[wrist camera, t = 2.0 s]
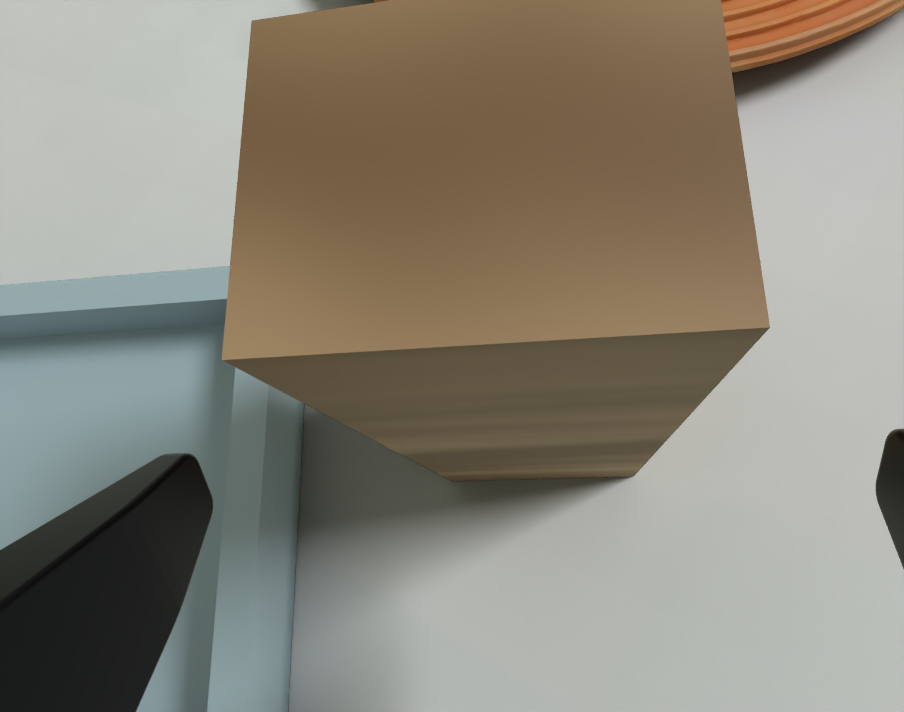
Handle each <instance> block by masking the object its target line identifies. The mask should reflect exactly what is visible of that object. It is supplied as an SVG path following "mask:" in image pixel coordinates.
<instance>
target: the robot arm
mask: <svg viewBox="0 0 904 712" xmlns="http://www.w3.org/2000/svg"><path fill="white" fill-rule="evenodd" d="M876 496H877V501H878V504H879V506H880V509H881V512H882V514H883V517H884V519H885V522H886V525H887V527H888V530H889V532H890V535H891V537H892V540H893V543H894V545H895V548H896V550H897V553H898V556H899V558H900V561H901V563H902V566H903V569H904V429H895V430H893V431H892V432H890V433H889V435H888V436H887V438H886V441H885V445H884V450H883V454H882V458H881V462H880V467H879V471H878V475H877V480H876ZM212 512H213V498H212V495H211V492H210V490H209V487H208V485H207V482H206V480H205V477H204V475H203V472H202V469H201V467H200V464H199V462H198V460H197V458H196V457H195V456H194V455H192V454H190V453H169V454H163V455H161V456H159V457H157V458H155V459H154V460H152V461H150V462H149V463H147V464H145V465H144V466H142V467H140V468H138V469H137V470H135V471H133V472H132V473H130V474H128V475H127V476H125V477H123V478H122V479H120V480H118V481H116V482H115V483H113V484H111V485H110V486H108V487H106V488H105V489H103V490H101V491H99V492H98V493H96V494H94V495H93V496H91V497H89V498H88V499H86V500H84V501H82V502H81V503H79V504H77V505H76V506H74V507H72V508H71V509H69V510H67V511H65V512H64V513H62V514H60V515H59V516H57V517H55V518H54V519H52V520H50V521H48V522H47V523H45V524H43V525H42V526H40V527H38V528H37V529H35V530H33V531H32V532H30V533H28V534H26V535H25V536H23V537H21V538H20V539H18V540H16V541H15V542H13V543H11V544H9V545H8V546H6V547H4V548H3V549H1V550H0V712H136V711H137V709H138V706H139V704H140V702H141V700H142V697H143V695H144V693H145V691H146V688H147V686H148V684H149V682H150V679H151V677H152V675H153V673H154V670H155V668H156V666H157V663H158V661H159V659H160V657H161V654H162V652H163V650H164V648H165V645H166V643H167V641H168V639H169V636H170V634H171V632H172V630H173V627H174V625H175V622H176V620H177V618H178V615H179V613H180V610H181V607H182V605H183V602H184V599H185V596H186V593H187V590H188V587H189V584H190V581H191V578H192V575H193V572H194V569H195V566H196V563H197V560H198V556H199V553H200V550H201V547H202V544H203V541H204V538H205V535H206V532H207V529H208V526H209V523H210V520H211V516H212Z"/></svg>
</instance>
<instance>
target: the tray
mask: <svg viewBox="0 0 904 712" xmlns="http://www.w3.org/2000/svg"><path fill="white" fill-rule="evenodd" d="M229 272H230V266H224V267H212V268H200V269H189V270H177V271H165V272H153V273H141V274H129V275H117V276H105V277H94V278H82V279H70V280H58V281H46V282H34V283H22V284H10V285H0V550H1V549H3V548H4V547H6V546H8V545H9V544H11V543H13V542H15V541H16V540H18V539H20V538H21V537H23V536H25V535H26V534H28V533H30V532H32V531H33V530H35V529H37V528H38V527H40V526H42V525H43V524H45V523H47V522H48V521H50V520H52V519H54V518H55V517H57V516H59V515H60V514H62V513H64V512H65V511H67V510H69V509H71V508H72V507H74V506H76V505H77V504H79V503H81V502H82V501H84V500H86V499H88V498H89V497H91V496H93V495H94V494H96V493H98V492H99V491H101V490H103V489H105V488H106V487H108V486H110V485H111V484H113V483H115V482H116V481H118V480H120V479H122V478H123V477H125V476H127V475H128V474H130V473H132V472H133V471H135V470H137V469H138V468H140V467H142V466H144V465H145V464H147V463H149V462H150V461H152V460H154V459H155V458H157V457H159V456H161V455H163V454H169V453H190V454H192V455H194V456H195V457H196V458H197V460H198V462H199V464H200V467H201V469H202V472H203V475H204V477H205V480H206V482H207V485H208V487H209V490H210V492H211V495H212V498H213V512H212V516H211V520H210V523H209V526H208V529H207V532H206V535H205V538H204V541H203V544H202V547H201V550H200V553H199V556H198V560H197V563H196V566H195V569H194V572H193V575H192V578H191V581H190V584H189V587H188V590H187V593H186V596H185V599H184V602H183V605H182V607H181V610H180V613H179V615H178V618H177V620H176V622H175V625H174V627H173V630H172V632H171V634H170V636H169V639H168V641H167V643H166V645H165V648H164V650H163V652H162V654H161V657H160V659H159V661H158V663H157V666H156V668H155V670H154V673H153V675H152V677H151V679H150V682H149V684H148V686H147V688H146V691H145V693H144V695H143V697H142V700H141V702H140V704H139V706H138V709H137V711H136V712H288V708H289V689H290V670H291V651H292V631H293V612H294V593H295V574H296V555H297V536H298V516H299V497H300V478H301V459H302V440H303V420H304V403H302V402H300V401H298V400H296V399H294V398H293V397H291V396H289V395H287V394H285V393H283V392H281V391H279V390H277V389H276V388H274V387H272V386H270V385H268V384H266V383H264V382H262V381H260V380H258V379H257V378H255V377H253V376H251V375H249V374H247V373H245V372H243V371H241V370H240V369H238V368H236V367H234V366H232V365H230V364H228V363H226V362H224V361H222V351H223V340H224V328H225V317H226V306H227V295H228V283H229Z"/></svg>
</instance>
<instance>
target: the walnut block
mask: <svg viewBox="0 0 904 712" xmlns="http://www.w3.org/2000/svg"><path fill="white" fill-rule="evenodd" d="M769 328H770V325H769V318H768V312H767V305H766V298H765V292H764V285H763V278H762V272H761V265H760V258H759V252H758V245H757V238H756V231H755V225H754V218H753V211H752V205H751V198H750V191H749V185H748V178H747V171H746V165H745V158H744V151H743V145H742V138H741V131H740V124H739V118H738V111H737V104H736V98H735V91H734V84H733V78H732V71H731V64H730V58H729V51H728V44H727V37H726V31H725V24H724V17H723V11H722V4H721V0H389V1H382V2H375V3H369V4H362V5H355V6H348V7H342V8H335V9H328V10H321V11H314V12H308V13H301V14H294V15H287V16H280V17H274V18H267V19H260V20H253V21H252V24H251V35H250V46H249V58H248V69H247V80H246V92H245V103H244V114H243V125H242V137H241V148H240V159H239V171H238V182H237V193H236V204H235V216H234V227H233V238H232V249H231V261H230V272H229V283H228V295H227V306H226V317H225V328H224V340H223V351H222V361H224V362H226V363H228V364H230V365H232V366H234V367H236V368H238V369H240V370H241V371H243V372H245V373H247V374H249V375H251V376H253V377H255V378H257V379H258V380H260V381H262V382H264V383H266V384H268V385H270V386H272V387H274V388H276V389H277V390H279V391H281V392H283V393H285V394H287V395H289V396H291V397H293V398H294V399H296V400H298V401H300V402H302V403H304V404H306V405H308V406H310V407H312V408H313V409H315V410H317V411H319V412H321V413H323V414H325V415H327V416H329V417H331V418H332V419H334V420H336V421H338V422H340V423H342V424H344V425H346V426H348V427H349V428H351V429H353V430H355V431H357V432H359V433H361V434H363V435H365V436H367V437H368V438H370V439H372V440H374V441H376V442H378V443H380V444H382V445H384V446H386V447H387V448H389V449H391V450H393V451H395V452H397V453H399V454H401V455H403V456H404V457H406V458H408V459H410V460H412V461H414V462H416V463H418V464H420V465H422V466H423V467H425V468H427V469H429V470H431V471H433V472H435V473H437V474H439V475H441V476H442V477H444V478H446V479H448V480H450V481H480V480H518V479H556V478H594V477H632V476H634V475H635V474H636V473H637V472H638V471H639V470H640V469H641V468H642V467H643V466H644V464H645V463H646V462H647V461H648V460H649V459H650V458H651V457H652V456H653V455H654V454H655V452H656V451H657V450H658V449H659V448H660V447H661V446H662V445H663V444H664V443H665V441H666V440H667V439H668V438H669V437H670V436H671V435H672V434H673V433H674V432H675V431H676V429H677V428H678V427H679V426H680V425H681V424H682V423H683V422H684V421H685V420H686V419H687V417H688V416H689V415H690V414H691V413H692V412H693V411H694V410H695V409H696V408H697V406H698V405H699V404H700V403H701V402H702V401H703V400H704V399H705V398H706V397H707V396H708V394H709V393H710V392H711V391H712V390H713V389H714V388H715V387H716V386H717V385H718V384H719V382H720V381H721V380H722V379H723V378H724V377H725V376H726V375H727V374H728V373H729V371H730V370H731V369H732V368H733V367H734V366H735V365H736V364H737V363H738V362H739V361H740V359H741V358H742V357H743V356H744V355H745V354H746V353H747V352H748V351H749V350H750V349H751V347H752V346H753V345H754V344H755V343H756V342H757V341H758V340H759V339H760V338H761V336H762V335H763V334H764V333H765V332H766V331H767V330H768V329H769Z"/></svg>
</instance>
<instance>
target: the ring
mask: <svg viewBox="0 0 904 712" xmlns="http://www.w3.org/2000/svg"><path fill="white" fill-rule="evenodd" d="M373 1H374V2H382V1H389V0H373ZM721 4H722V11H723V17H724V24H725V31H726V37H727V44H728V51H729V58H730V64H731V71H732V73H733V72H738V71H743V70H747V69H751V68H755V67H759V66H763V65H767V64H771V63H775V62H779V61H782V60H786V59H789V58H792V57H795V56H798V55H801V54H804V53H807V52H809V51H812V50H815V49H818V48H820V47H823V46H826V45H829V44H831V43H834V42H836V41H839V40H841V39H843V38H845V37H848V36H850V35H852V34H854V33H856V32H859V31H861V30H863V29H865V28H868V27H870V26H872V25H874V24H876V23H878V22H880V21H881V20H883V19H885V18H887V17H889V16H891V15H893V14H895V13H896V12H898V11H899V10H901V9H903V8H904V0H721Z"/></svg>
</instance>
